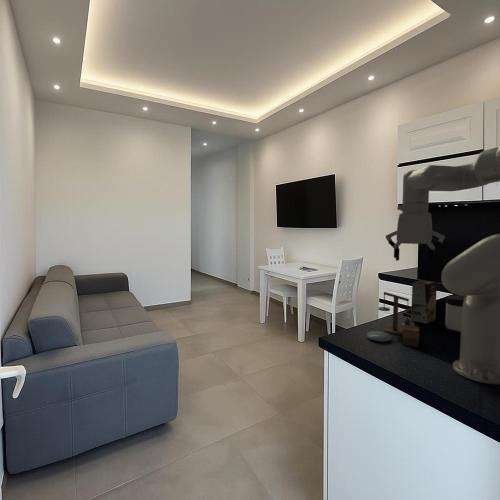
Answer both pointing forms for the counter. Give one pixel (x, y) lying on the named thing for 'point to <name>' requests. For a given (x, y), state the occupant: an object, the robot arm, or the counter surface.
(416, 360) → the counter surface
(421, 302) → the coffee box
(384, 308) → the balance
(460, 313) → the jar
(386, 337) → the dish
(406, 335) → the block
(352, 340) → the counter surface
